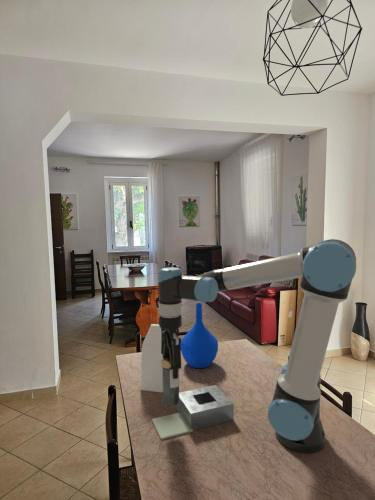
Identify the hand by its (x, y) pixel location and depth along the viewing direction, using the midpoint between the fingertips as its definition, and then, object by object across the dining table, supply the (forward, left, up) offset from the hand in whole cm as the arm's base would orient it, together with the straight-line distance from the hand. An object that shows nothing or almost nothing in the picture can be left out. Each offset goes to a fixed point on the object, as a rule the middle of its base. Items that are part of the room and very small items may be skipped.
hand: (170, 381), depth 111 cm
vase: (+41, -28, -16) cm, 52 cm away
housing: (+2, -13, -16) cm, 20 cm away
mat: (0, 0, -16) cm, 16 cm away
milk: (+29, -4, -16) cm, 33 cm away
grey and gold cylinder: (0, 0, -7) cm, 7 cm away
